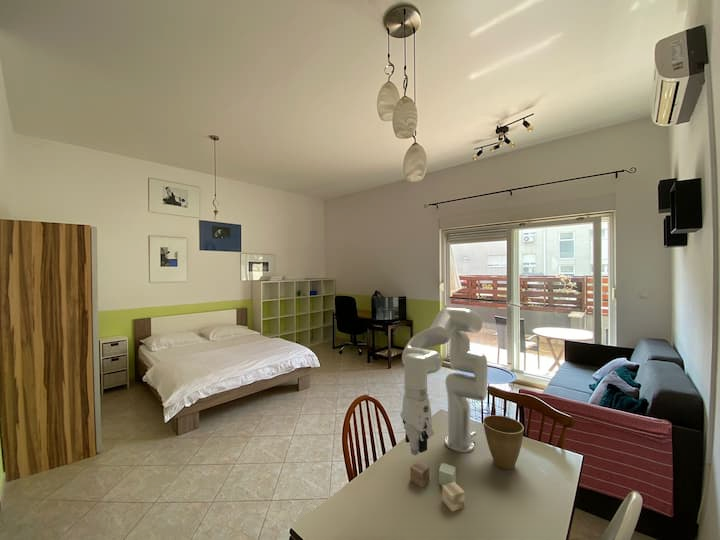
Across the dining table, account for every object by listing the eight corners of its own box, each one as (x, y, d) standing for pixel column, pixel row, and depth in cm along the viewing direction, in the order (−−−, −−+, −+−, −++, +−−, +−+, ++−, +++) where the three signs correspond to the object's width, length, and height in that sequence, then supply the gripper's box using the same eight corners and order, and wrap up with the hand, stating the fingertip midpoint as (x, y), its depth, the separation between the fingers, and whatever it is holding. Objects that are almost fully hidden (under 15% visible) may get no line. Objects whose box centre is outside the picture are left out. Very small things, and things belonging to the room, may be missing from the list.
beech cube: (454, 496, 99) (454, 481, 99) (464, 507, 95) (464, 491, 95) (442, 500, 98) (442, 485, 98) (452, 511, 93) (451, 496, 93)
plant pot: (514, 453, 124) (513, 415, 124) (531, 477, 109) (531, 434, 109) (478, 451, 125) (478, 413, 125) (490, 474, 110) (490, 432, 111)
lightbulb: (411, 446, 100) (411, 415, 100) (427, 454, 97) (427, 421, 96) (402, 455, 96) (402, 422, 96) (418, 463, 92) (419, 429, 92)
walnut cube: (417, 474, 111) (417, 460, 111) (429, 480, 107) (429, 466, 107) (410, 480, 107) (410, 467, 107) (422, 487, 104) (421, 473, 104)
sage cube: (442, 476, 109) (441, 462, 110) (455, 480, 107) (455, 467, 107) (438, 484, 105) (438, 470, 105) (453, 489, 103) (452, 475, 103)
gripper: (443, 398, 91) (443, 456, 91) (407, 381, 106) (407, 431, 105) (425, 404, 87) (426, 464, 87) (391, 385, 102) (391, 437, 102)
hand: (416, 445), depth 96 cm, fingers closed on lightbulb, 5 cm apart
